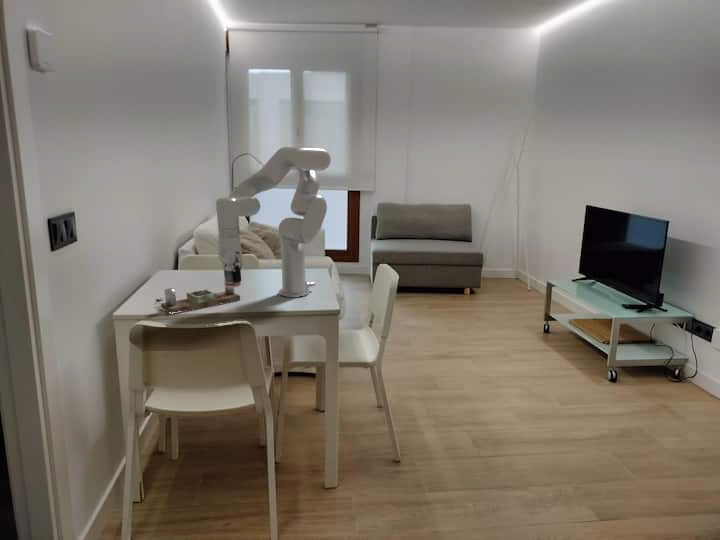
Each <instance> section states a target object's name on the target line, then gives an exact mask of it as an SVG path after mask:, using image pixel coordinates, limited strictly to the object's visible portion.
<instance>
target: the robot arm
mask: <svg viewBox="0 0 720 540" xmlns="http://www.w3.org/2000/svg"><path fill="white" fill-rule="evenodd" d="M331 161H332V159H331V155H330V153H329V152H328V151H327V150H326V149H324V148H309V147H300V146H284V147H280V148H279V149H277V150H276V152H275V153H274V154H273V155H272V156H271V157H270V159H268V161H267V162H265V164H264V165H263V166H262V167H261V169H260V170H259V171H257V172H255V173H254V174H252V175H251V176H249V177H248V178H246V179H244V180H242V181H241V182H240V183H238V185H236V187H235V188H234V189H233V190H232V191H231V192H230V193H229V195H227V197H225V196H224V197H220V198H217V199H216V202H215V207H216V218H217V229H218V230H217V231H218V242H217V244H218V250H217V251H218V260H219V261H220V262H221V263H222V268H223V275H224V277H225V267H226V266H227V265H226V263H227V264H230V265H231V264H232V269H233V272H232V278H233V282H239V281H240V282H241V281H242V273H241V272H242V267H243V266H244V263H243V251H242V244H241V243H242V241H241V238H240V236H241V230H240V217H253V216H256V215H257V214H258V213H259V211H260V209H261V203H260V200H259V199H258V198H257V197H255V196H256V195H258V194H260V193H262V192H266V191H269V190H272V189H274V188H276V187H277V186H279V184H280V183H281V181H283V179H284V178H285V177H286V175H288V173H290V171H291V170H292V171H293V170H294V171H295V170H297V171H298V175H299V178H298V179H299V180H298V183H297V186H296V188H295V192H294V194H293V198H292V200H291V203H290V211H291V213H293V214H294V215H295V216H297V217H286V218H284V219H282V220H281V221H280V222H279V224H278V237H279V241H280V246H281V247H280V248H281V249H280V250H281V283H282V286H281V287H282V288H280V289H279V290H278V295H279V296H281V295H282V296H281V297H284V296H286V297H285V298H301V297H300V296H302V297H305V295H306V296H308V295H309V294H310V289H309V288H311V287H315V286H316V283H315V281H310V282H309V281H306V251H305V247H304V245H305V244H306V245H311V244H313V243H314V242H315V240H316V239H317V238H318V236H319V234H320V231H321V229H322V227H323V226H322V225H323V223H324V220H325V217H326V216H327V215H326V214H327V210H328V205H327V200H326V199H325V198H324V197H323V196H322V195H320V194H318V192H319V188H320V182H321V181H320V177H319V175H318V172H317V171H319V172H320V171H321V172H322V171H325V170H327V169H328V168H329V166H330V164H331ZM298 217H301V218H298ZM302 217H303V218H302ZM235 261H237V263H234V262H235ZM236 264H237V265H236ZM235 265H236V267H235Z"/></svg>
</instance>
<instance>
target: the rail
mask: <svg viewBox="0 0 720 540" xmlns="http://www.w3.org/2000/svg"><path fill="white" fill-rule="evenodd" d="M236 300H240V301H241V295H240V294H238V293H236V292H234V295H225V291H222V292H213V291H211V290H209V289H207V288H205V289H201V290H195V291H194V290H193V291H189V292H186V298H184V299H179V300H176V306H173V307H167V306H166V302H163V303H160V308H161V307H162V308H163V309H165V310H167V311H168V312H171V313H172V312H178V311H185V310H191V311H193V310H192V309H195V310H199V309H198V308H200V309H204V308H203V307H205V308H209V307H208V306H210V307H214V306H213V305H215V306H217V305H216V304H220V303H225V304H227V303H226V302H230V303H232V302H231V301H235V302H237V301H236ZM220 305H221V304H220ZM163 309H162V310H163ZM168 312H167V313H168Z"/></svg>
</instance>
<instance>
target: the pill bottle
mask: <svg viewBox="0 0 720 540" xmlns="http://www.w3.org/2000/svg"><path fill="white" fill-rule="evenodd" d="M234 263H237V261H235V262H234ZM226 265H227V266H226V267H225V268H224V269H225V276H224V280H225V279H226V287H229V288H234V289H235V288H239V287H240V286H241V281H239V282H233V278H232V272H233V269H232V264H231V265H230V264H227V263H226ZM236 265H237V264H236ZM236 265H235V267H236Z"/></svg>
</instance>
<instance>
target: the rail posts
mask: <svg viewBox="0 0 720 540" xmlns="http://www.w3.org/2000/svg"><path fill="white" fill-rule="evenodd" d="M224 292H225V295H234V293H235V287H234V288H229V287H226V279H225V278H224ZM176 297H177V296H176V288H172V287H171V288H166V289H164V299H165V303H166V306H167V307H173V306H176V301H177V300H176Z"/></svg>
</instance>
